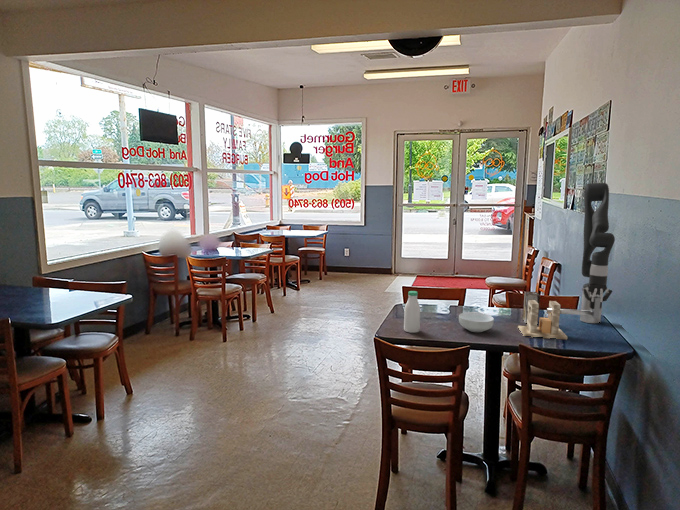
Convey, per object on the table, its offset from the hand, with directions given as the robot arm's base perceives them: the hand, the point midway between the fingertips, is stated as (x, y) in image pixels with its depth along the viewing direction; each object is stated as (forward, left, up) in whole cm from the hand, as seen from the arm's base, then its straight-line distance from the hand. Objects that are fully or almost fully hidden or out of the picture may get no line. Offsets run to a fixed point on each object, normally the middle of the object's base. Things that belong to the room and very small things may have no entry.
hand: (595, 308), depth 238 cm
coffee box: (+25, -20, -14) cm, 35 cm away
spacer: (+23, 0, -13) cm, 26 cm away
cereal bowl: (+56, 0, -14) cm, 58 cm away
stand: (+24, 0, -14) cm, 28 cm away
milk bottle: (+88, +8, -14) cm, 89 cm away
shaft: (+10, 0, -4) cm, 11 cm away
